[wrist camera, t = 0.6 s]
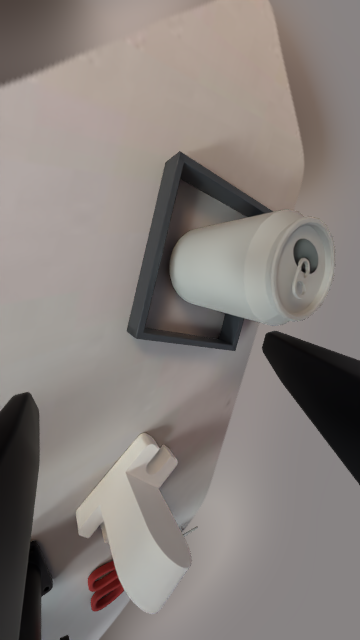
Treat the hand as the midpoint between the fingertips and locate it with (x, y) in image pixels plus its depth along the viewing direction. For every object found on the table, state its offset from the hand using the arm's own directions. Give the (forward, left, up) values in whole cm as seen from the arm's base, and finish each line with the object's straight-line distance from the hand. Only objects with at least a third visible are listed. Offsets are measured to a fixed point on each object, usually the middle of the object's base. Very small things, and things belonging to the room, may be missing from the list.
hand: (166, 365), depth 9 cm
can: (+2, -11, -13) cm, 17 cm away
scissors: (-32, 0, -12) cm, 34 cm away
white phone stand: (-19, 0, -13) cm, 23 cm away
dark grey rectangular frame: (+2, -11, -13) cm, 17 cm away
